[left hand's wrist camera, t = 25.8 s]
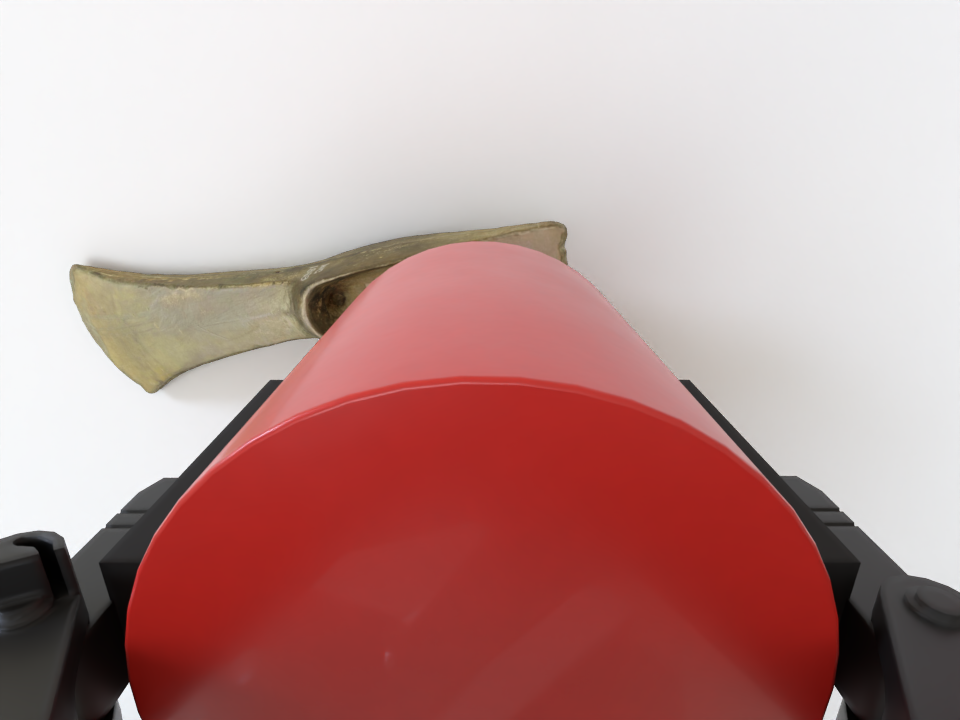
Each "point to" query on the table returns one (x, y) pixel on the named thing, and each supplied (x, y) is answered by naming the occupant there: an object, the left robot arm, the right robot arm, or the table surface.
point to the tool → (248, 302)
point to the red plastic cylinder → (481, 529)
